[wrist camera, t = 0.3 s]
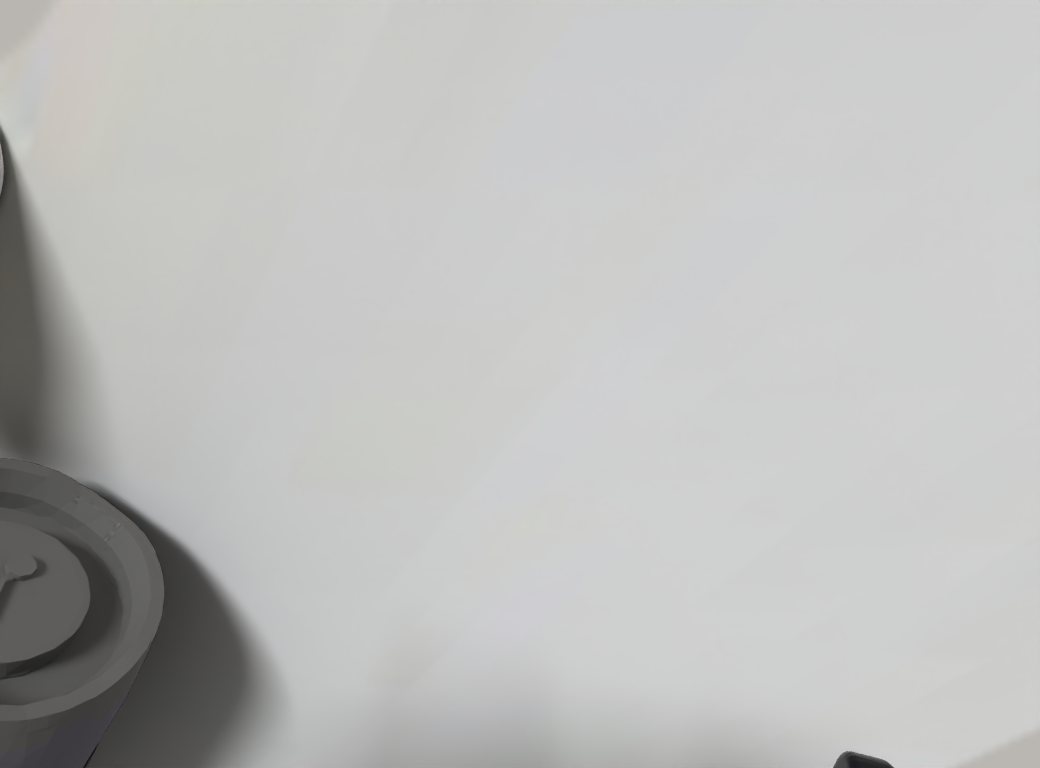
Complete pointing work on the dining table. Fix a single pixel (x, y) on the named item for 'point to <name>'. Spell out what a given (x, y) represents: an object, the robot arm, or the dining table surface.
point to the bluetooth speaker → (68, 615)
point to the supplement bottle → (1, 169)
